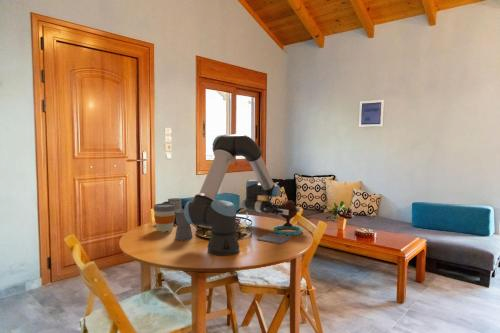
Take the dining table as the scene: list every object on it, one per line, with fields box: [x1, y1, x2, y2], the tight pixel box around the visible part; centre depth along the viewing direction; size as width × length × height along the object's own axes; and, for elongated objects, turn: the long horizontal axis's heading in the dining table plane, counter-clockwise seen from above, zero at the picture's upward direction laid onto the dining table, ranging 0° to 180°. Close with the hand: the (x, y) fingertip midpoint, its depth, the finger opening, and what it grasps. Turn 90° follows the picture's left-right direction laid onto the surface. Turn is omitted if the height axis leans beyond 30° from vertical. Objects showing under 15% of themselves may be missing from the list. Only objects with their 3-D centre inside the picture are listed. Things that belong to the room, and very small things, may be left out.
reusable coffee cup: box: [153, 202, 176, 233], centre depth 195 cm, size 13×13×15 cm
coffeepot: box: [174, 204, 193, 241], centre depth 180 cm, size 15×9×18 cm, turn 147°
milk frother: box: [162, 197, 183, 226], centre depth 214 cm, size 14×16×15 cm
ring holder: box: [273, 224, 303, 237], centre depth 194 cm, size 16×16×2 cm
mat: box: [256, 232, 293, 245], centre depth 180 cm, size 14×14×1 cm
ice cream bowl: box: [279, 199, 298, 227], centre depth 194 cm, size 11×11×15 cm
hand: (293, 211), depth 191 cm, fingers closed on ice cream bowl, 11 cm apart
